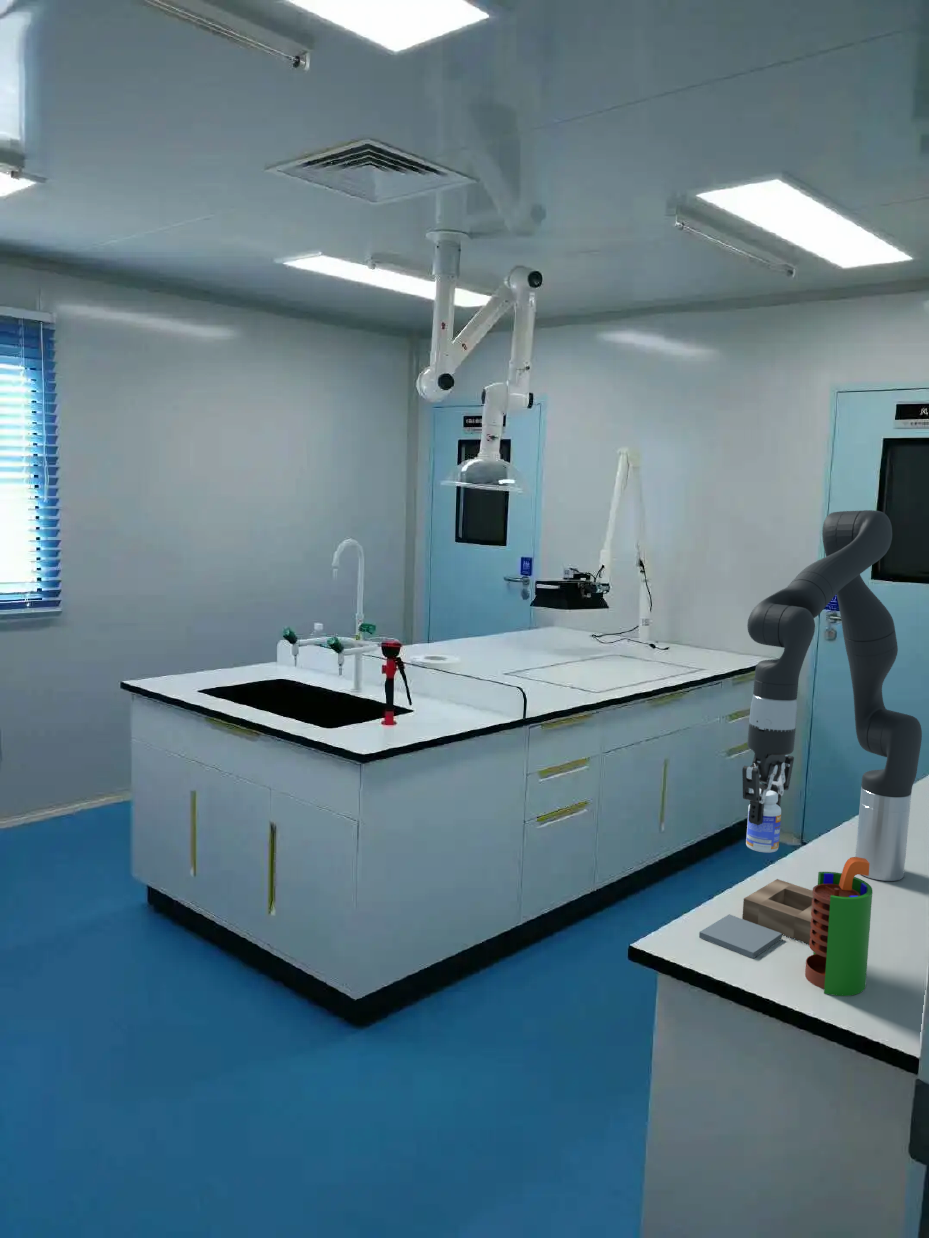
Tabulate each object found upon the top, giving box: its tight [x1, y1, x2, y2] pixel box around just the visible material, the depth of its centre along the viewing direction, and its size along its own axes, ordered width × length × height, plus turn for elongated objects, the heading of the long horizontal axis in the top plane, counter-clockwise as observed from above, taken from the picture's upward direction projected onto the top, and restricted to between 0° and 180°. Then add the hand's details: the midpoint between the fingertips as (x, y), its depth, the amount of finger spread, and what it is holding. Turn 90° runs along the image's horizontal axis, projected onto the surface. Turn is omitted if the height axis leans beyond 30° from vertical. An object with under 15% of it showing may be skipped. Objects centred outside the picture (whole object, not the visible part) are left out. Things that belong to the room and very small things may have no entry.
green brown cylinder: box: [804, 856, 873, 997], centre depth 150 cm, size 10×9×20 cm
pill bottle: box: [745, 789, 782, 854], centre depth 164 cm, size 5×5×10 cm
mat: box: [698, 913, 783, 959], centre depth 165 cm, size 10×10×1 cm
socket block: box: [741, 878, 814, 945], centre depth 172 cm, size 13×13×4 cm
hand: (763, 819), depth 164 cm, fingers closed on pill bottle, 5 cm apart
